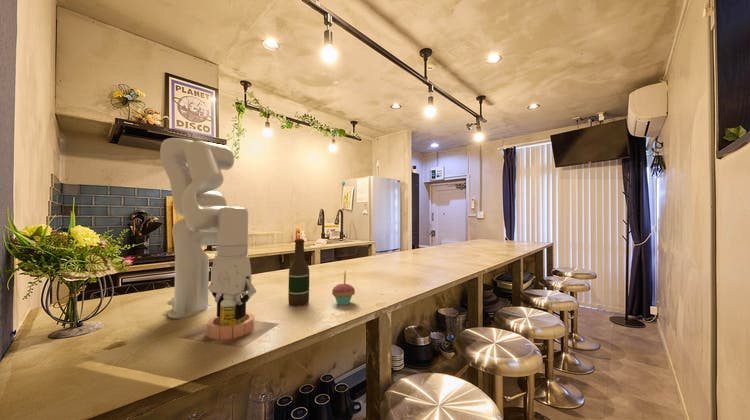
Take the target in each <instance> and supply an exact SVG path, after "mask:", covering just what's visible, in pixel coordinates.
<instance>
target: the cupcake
mask: <svg viewBox="0 0 750 420" xmlns="http://www.w3.org/2000/svg"><path fill="white" fill-rule="evenodd" d="M346 278H347V271H346V269H345V270H344V273H343V283H339V284H337V285H335V286H334V287H333V288H332V290H331V291H332V292H331V294H332V296H333V297H334V298H335V301H336V304H338V305H339V306H346V305H349V304H350V303H351V299H352V297H353V295H355V294H356V293H355V291H356V290H355V287H353V286H352V285H351V284H348V283H346V281H347V279H346Z"/></svg>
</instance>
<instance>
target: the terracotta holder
mask: <svg viewBox="0 0 750 420" xmlns="http://www.w3.org/2000/svg"><path fill="white" fill-rule="evenodd" d="M254 321H255V315H254V314H253V313H252V312H249V311H248V312H247V311H246V315H245V316H244V317H242V323H238V324H235V325H227V326H220V317H217V315H216V316H213V317H211V318H210V319H209V320H208V321H207V322H206V324H207V336H208V337H209V338H212V339H220V340H221V339H231V338H236V337H239V336H242V335H245V334H247V333H249V332H250V331H252V330H253V328H254Z"/></svg>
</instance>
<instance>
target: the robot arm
mask: <svg viewBox="0 0 750 420" xmlns="http://www.w3.org/2000/svg"><path fill="white" fill-rule="evenodd" d="M159 150H160V153H159V154H160V161H161V164H162V167H163V169H164V171H165V174H166V176H167V177H168V180H169V183H170V185H169V186H170V190H171V191H170V192H171V197H172V202H173V203H172V204H173V208H174V211H175V214H177V215H178V216H180V217H183V218H181V219H179V220H177V221H175V223H174V224H173V226H172V228H171V230H172V231H171V233H172V239H173V240H172V241H173V245H174V294H173V295H174V297H172V298H171V300H168V301H167V305H168V306H171V309H170V310H169V311H168V312H167V316H168V318H170V319H174V320H181V319H183V318H186V317H188V316H192V315H193V316H194V315H197V314H198V315H199V314H201V313H205V312H208V311H210V310H211V309H212V308H214V305H213V304H211V303H209V292H210V293H211V295H212V297H214V302H215V303H216V316H217V317H220V304H221V302H222V300H224V298H223V294H230V295H236V299H237V303H238V304H237V305H236V309H235V319H237V320H238V319H240V318H242V317H244V316H245V315H246V312H247V309H246V308H247V302H249V300H250V299H251V298H252V296H254V295H255V294H256V293H257V290H256V288H255V286H254V285H253V284H252V265H251V260H250V256H249V255H248V247H249V246H248V245H249V244H248V243H249V242H248V241H249V211H248V209H247V208H245V207H242V206H228V203H227V200H226V197H225V196H224V194H222V193H221V192H219V191H215V190H216V189H219V188H220V187H221V186H222V185H223V183H224V176H223V173H222V171H228V170H230V169H232V168H233V166H234V163H235V155H234V152H233V151H232V149H231V148H229V147H228V146H226V145H223V144H217V143H212V142H210V141H209V142H208V141H202V140H192V139H188V138H187V139H186V138H180V137H170V138H166V139H164V140H163V141H162V142H161V144H160V149H159ZM214 245H215V246H216V247H215V251H216V256H214V258H213V262H212V266H211V272H209V271H210V267H209V266H210V260H209V255H208V254H207V253H206V252H205V251H204V249H202V247H205V246H214ZM209 274H210V275H209ZM209 277H210V279H209ZM209 280H210V281H209ZM209 283H210V284H209Z"/></svg>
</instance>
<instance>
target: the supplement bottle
mask: <svg viewBox="0 0 750 420" xmlns="http://www.w3.org/2000/svg"><path fill="white" fill-rule="evenodd" d="M223 298H224V300H222V302H221V304H220V326H227V325H235V324H238V323H242V318H240V319H238V320H237V319H235V309H236V305H237V304H238V303H237V299H236V295H230V294H223Z"/></svg>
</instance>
